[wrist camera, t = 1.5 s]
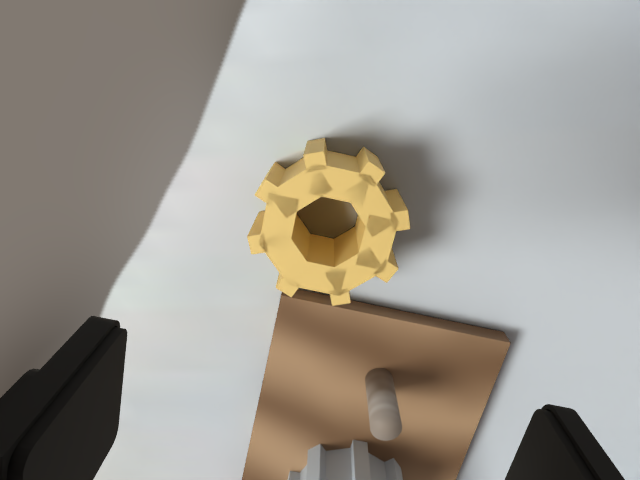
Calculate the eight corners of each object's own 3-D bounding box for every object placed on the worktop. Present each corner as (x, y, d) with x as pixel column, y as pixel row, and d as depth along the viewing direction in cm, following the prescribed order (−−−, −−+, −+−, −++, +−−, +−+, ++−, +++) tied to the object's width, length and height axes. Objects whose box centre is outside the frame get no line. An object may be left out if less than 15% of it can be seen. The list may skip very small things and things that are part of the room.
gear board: (283, 286, 28) (269, 350, 22) (503, 331, 29) (552, 407, 22) (238, 497, 33) (216, 599, 27) (424, 531, 34) (446, 638, 28)
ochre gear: (274, 126, 25) (264, 137, 21) (412, 157, 25) (426, 174, 22) (250, 255, 27) (238, 286, 24) (377, 282, 28) (384, 316, 24)
